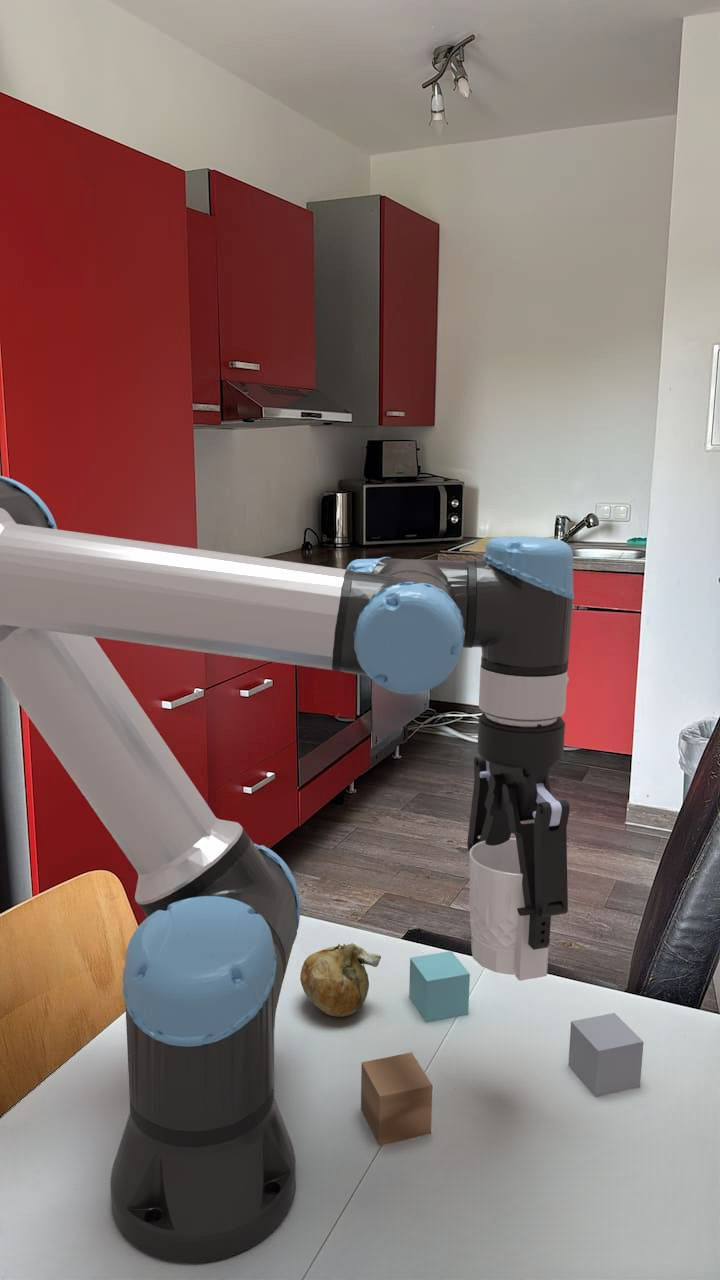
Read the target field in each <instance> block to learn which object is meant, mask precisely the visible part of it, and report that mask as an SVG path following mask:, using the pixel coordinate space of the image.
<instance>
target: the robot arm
mask: <svg viewBox="0 0 720 1280" xmlns="http://www.w3.org/2000/svg"><path fill="white" fill-rule="evenodd" d="M574 599H575V593H574V552H573V549H572V548H571V547H570V545H569V544H568V543H567V542H564V541H563V540H561V539H558V538H551V537H542V536H540V537H539V536H498V537H493V538H491V539H490V540H488V541H487V543H486V546H485V553H484V554H483V555H482V559H474V560H465V561H463V560H441V559H440V560H439V559H438V560H437V559H416V558H415V559H412V558H411V559H409V558H392V557H391V556H382V557H380V558H360V559H359V558H357V559H354V560H352V561H351V562H350V563H349V564H348V565H347V567H346V569H344V568H337V567H330V566H324V565H315V564H310V563H309V564H308V563H302V562H301V563H300V562H294V561H288V560H287V561H286V560H279V559H274V558H273V559H272V558H264V557H259V556H251V555H246V554H245V555H244V554H236V553H230V552H229V553H228V552H221V551H214V550H208V549H207V550H206V549H200V548H192V547H186V546H178V545H171V544H164V543H158V542H150V541H141V540H136V539H135V540H134V539H127V538H121V537H113V536H106V535H100V534H99V535H98V534H91V533H85V532H77V531H70V530H64V529H58V527H57V524H56V520H55V519H54V516H53V514H52V512H51V511H50V509H49V508H48V506H47V505H46V504H45V502H44V501H43V500H42V499H41V497H40V496H39V495H37V493H35V492H34V491H33V490H31V488H29V487H28V486H26V485H24V484H23V483H21V482H19V481H17V480H15V479H13V478H9V477H7V476H2V475H0V678H1V679H2V681H3V683H5V685H6V686H7V688H8V689H9V691H10V692H11V694H12V695H13V696H14V698H15V699H16V700H17V702H18V704H19V705H20V706H21V708H22V709H23V712H25V713H26V715H27V716H28V718H29V720H30V721H31V722H32V724H33V725H34V726H35V728H36V729H37V730H38V732H39V734H40V736H42V738H43V739H44V741H45V743H46V744H47V745H48V746H49V748H50V749H51V751H52V752H53V754H54V755H55V756H56V758H57V759H58V761H59V762H60V764H61V765H62V767H63V768H64V770H66V772H67V773H68V775H69V777H70V778H71V780H72V781H73V782H74V783H75V785H76V786H77V788H78V790H80V793H81V794H82V795H83V796H84V798H85V799H86V801H87V802H88V805H90V807H91V808H92V809H93V811H94V812H95V814H96V815H97V817H98V818H99V820H100V821H101V822H102V824H103V826H105V828H106V829H107V831H108V832H109V834H110V836H112V838H113V840H114V841H115V842H116V844H117V845H118V847H119V848H120V849H121V851H122V852H123V854H124V855H125V856H126V858H127V860H128V861H129V862H130V864H131V865H132V867H133V869H134V870H135V871H136V872H137V875H138V876H137V878H138V879H137V882H136V889H135V895H134V899H135V902H136V903H137V905H138V906H139V907H140V909H141V910H142V911H143V913H144V915H145V916H146V918H145V919H144V920H143V921H142V922H141V923H140V924H139V926H137V928H136V929H135V931H134V932H133V933H132V935H131V937H130V939H129V942H128V945H127V949H126V953H125V960H124V962H125V963H124V968H123V971H122V972H123V974H122V982H123V985H122V995H123V1001H124V1003H125V1025H126V1044H127V1045H126V1046H127V1069H128V1072H127V1073H128V1093H129V1115H128V1118H127V1120H126V1123H125V1127H124V1130H123V1133H122V1137H121V1139H120V1143H119V1146H118V1148H117V1151H116V1155H115V1158H114V1161H113V1165H112V1168H111V1172H110V1173H111V1174H110V1175H111V1176H110V1203H111V1204H110V1206H111V1214H112V1217H113V1220H114V1223H115V1225H116V1228H117V1229H118V1230H119V1232H120V1234H122V1237H124V1238H125V1240H127V1241H128V1243H130V1244H131V1245H132V1246H134V1247H135V1248H137V1249H138V1250H140V1251H141V1252H144V1253H145V1254H148V1255H149V1256H152V1257H154V1258H158V1259H161V1260H163V1261H164V1260H165V1261H170V1262H176V1263H177V1262H179V1263H191V1264H192V1263H203V1262H205V1263H206V1262H211V1261H217V1260H221V1259H225V1258H228V1257H231V1256H234V1255H237V1254H239V1253H241V1252H244V1251H246V1250H248V1249H251V1248H252V1247H253V1246H255V1245H256V1244H259V1242H261V1241H263V1240H264V1239H265V1238H267V1237H268V1236H269V1235H270V1234H271V1233H273V1232H274V1230H275V1229H277V1227H278V1226H279V1225H280V1224H281V1223H282V1222H283V1220H284V1219H285V1218H286V1217H287V1214H288V1212H289V1210H290V1208H291V1206H292V1204H293V1202H294V1199H295V1198H294V1197H295V1194H296V1188H297V1187H296V1186H297V1185H296V1184H297V1182H296V1181H297V1179H296V1178H297V1175H296V1173H297V1171H296V1170H297V1169H296V1167H297V1166H296V1165H297V1164H296V1163H297V1162H296V1155H295V1150H294V1146H293V1144H292V1141H291V1138H290V1134H289V1132H288V1129H287V1127H286V1125H285V1122H284V1120H283V1117H282V1114H281V1111H280V1109H279V1107H278V1106H279V1105H278V1104H277V1102H276V1098H275V1023H276V1013H277V1007H278V1005H279V1004H278V1003H279V999H280V996H281V995H280V994H281V990H282V988H283V987H282V986H283V984H284V980H285V976H286V972H287V968H288V965H289V961H290V957H291V953H292V950H293V947H294V944H295V941H296V938H297V936H298V929H299V926H300V920H301V917H300V916H301V914H300V910H301V909H300V908H301V907H300V894H299V889H298V885H297V882H296V880H295V879H296V878H295V877H294V875H293V873H292V871H291V869H290V868H289V866H288V865H287V863H286V862H285V860H283V859H282V857H280V856H279V855H278V854H277V852H274V850H272V849H270V848H269V847H266V846H265V845H263V844H262V845H258V844H257V843H254V842H253V840H252V839H251V838H250V836H249V835H248V834H247V832H246V831H245V829H244V828H243V826H242V825H241V824H240V823H239V822H237V821H231V820H225V819H221V818H220V819H219V818H218V817H216V816H215V814H214V812H213V811H212V810H211V808H210V806H209V805H208V803H207V802H206V800H205V799H204V797H203V796H202V795H201V793H200V792H199V790H198V788H196V785H195V784H194V783H193V782H192V780H191V779H190V777H189V775H188V774H187V773H186V771H185V769H184V768H183V767H182V766H181V764H180V763H179V762H180V761H178V759H177V758H176V757H175V755H174V753H173V752H172V751H171V749H170V747H169V746H168V745H167V743H166V742H165V740H164V739H163V737H162V736H161V735H160V733H159V731H158V730H157V728H156V727H155V725H154V724H153V722H152V721H151V719H150V717H148V715H147V713H146V712H145V711H144V709H143V707H142V706H141V705H140V704H139V702H138V700H137V698H135V696H134V694H133V693H132V692H131V690H130V689H129V687H128V685H127V683H126V682H125V681H124V679H122V677H121V675H120V674H119V672H118V671H117V669H116V668H115V667H114V665H113V664H112V662H111V660H110V659H109V657H108V656H107V654H106V653H105V652H104V650H103V648H102V647H101V646H100V644H99V643H98V641H97V639H96V638H98V639H99V638H100V639H106V640H113V641H122V642H126V643H127V642H128V643H135V644H142V645H148V646H155V647H156V646H157V647H163V648H170V649H179V650H184V651H193V652H200V653H205V654H206V653H208V654H214V655H221V656H229V657H235V658H242V659H243V658H244V659H248V660H249V659H252V660H256V661H257V660H258V661H264V662H265V661H266V662H273V663H279V664H286V665H294V666H299V667H300V666H301V667H306V668H307V667H308V668H315V669H322V670H329V671H338V672H343V673H347V674H353V675H359V676H360V675H361V676H367V677H369V678H370V679H371V680H372V681H373V682H374V683H375V684H376V685H378V686H380V687H382V688H383V689H385V690H387V691H390V692H392V693H396V694H402V695H416V694H421V693H425V692H428V691H430V690H432V689H434V688H436V687H438V686H440V685H441V684H443V683H444V682H445V681H446V680H447V679H448V678H449V676H450V675H451V674H452V673H453V671H454V670H455V668H456V667H457V665H458V663H459V660H460V658H461V654H462V651H463V649H464V648H465V649H466V648H467V649H468V648H469V649H473V648H481V657H480V660H481V661H480V665H479V686H478V687H479V689H478V690H479V693H478V708H479V709H480V710H481V711H482V713H481V714H480V716H478V729H477V752H478V755H479V756H475V757H474V758H473V776H474V781H473V791H472V797H471V807H470V816H469V817H470V818H469V825H468V826H469V827H468V833H467V844H466V846H467V850H468V852H470V849H471V848H472V847H473V846H474V845H475V844H477V843H479V842H481V841H484V840H485V841H486V844H487V845H491V846H495V845H500V844H502V843H504V842H506V841H508V840H509V839H510V838H511V835H512V834H513V835H514V836H515V838H516V842H517V850H518V857H519V865H520V873H521V874H523V878H522V888H523V896H524V904H525V907H523V908H517V910H518V913H519V918H518V937H517V956H516V975H515V976H514V977H516V979H517V980H518V981H520V982H521V981H526V980H527V981H528V980H531V979H537V978H543V977H547V976H548V960H549V946H550V942H551V941H550V938H551V937H550V936H551V925H552V922H551V920H552V917H553V916H558V915H559V916H560V915H565V914H567V913H568V911H569V906H568V905H569V899H568V898H569V896H568V895H569V894H568V893H569V892H568V851H567V850H568V846H567V843H568V842H567V840H568V839H567V836H568V835H567V826H568V821H569V815H570V810H571V807H570V804H569V801H568V800H566V799H562V800H561V799H560V800H557V799H555V797H554V796H553V795H552V794H551V792H552V786H551V781H550V773H549V772H550V770H551V769H552V768H553V766H555V765H557V764H558V763H560V761H561V760H562V759H563V757H564V752H565V751H564V750H565V733H566V732H565V731H566V730H565V729H566V722H565V721H564V720H563V718H562V716H563V715H564V714H565V712H566V706H567V688H568V687H567V686H568V684H569V681H570V678H569V676H568V669H569V658H570V646H571V645H570V643H571V632H572V631H571V630H572V618H573V617H572V616H573V605H574V604H573V602H574ZM525 821H534V822H527V823H521V822H525Z"/></svg>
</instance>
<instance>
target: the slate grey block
mask: <svg viewBox="0 0 720 1280" xmlns="http://www.w3.org/2000/svg"><path fill="white" fill-rule="evenodd" d="M569 1032H570V1033H569V1034H570V1035H569V1046H568V1047H569V1048H568V1049H569V1051H568V1067H569V1068H570V1069H571V1071H572V1072H573V1073H574V1074H575V1075H576V1076H577V1078H578V1079H579V1080H580V1081H581V1082H582V1083H583V1084H584V1085H585V1087H586V1089H588V1090H589V1092H590V1093H591V1094H592V1095H593V1096H594V1097H595V1098H597V1097H601V1096H605V1095H610V1094H615V1093H619V1092H623V1091H628V1090H632V1089H633V1090H634V1089H637V1088H640V1087H641V1076H642V1069H643V1068H642V1066H643V1055H644V1042H645V1041H644V1040H643V1039H642V1038H641V1037H640V1036H639V1035H637V1033H635V1031H634V1030H633V1029H632V1028H631V1027H629V1025H627V1023H625V1022H624V1021H623V1020H622V1018H620V1017H619V1016H618V1015H617V1014H616V1013H615V1012H613V1013H608V1014H606V1013H605V1014H602V1015H597V1016H592V1017H591V1016H590V1017H587V1018H582V1019H577V1020H572V1021H570V1031H569Z"/></svg>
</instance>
